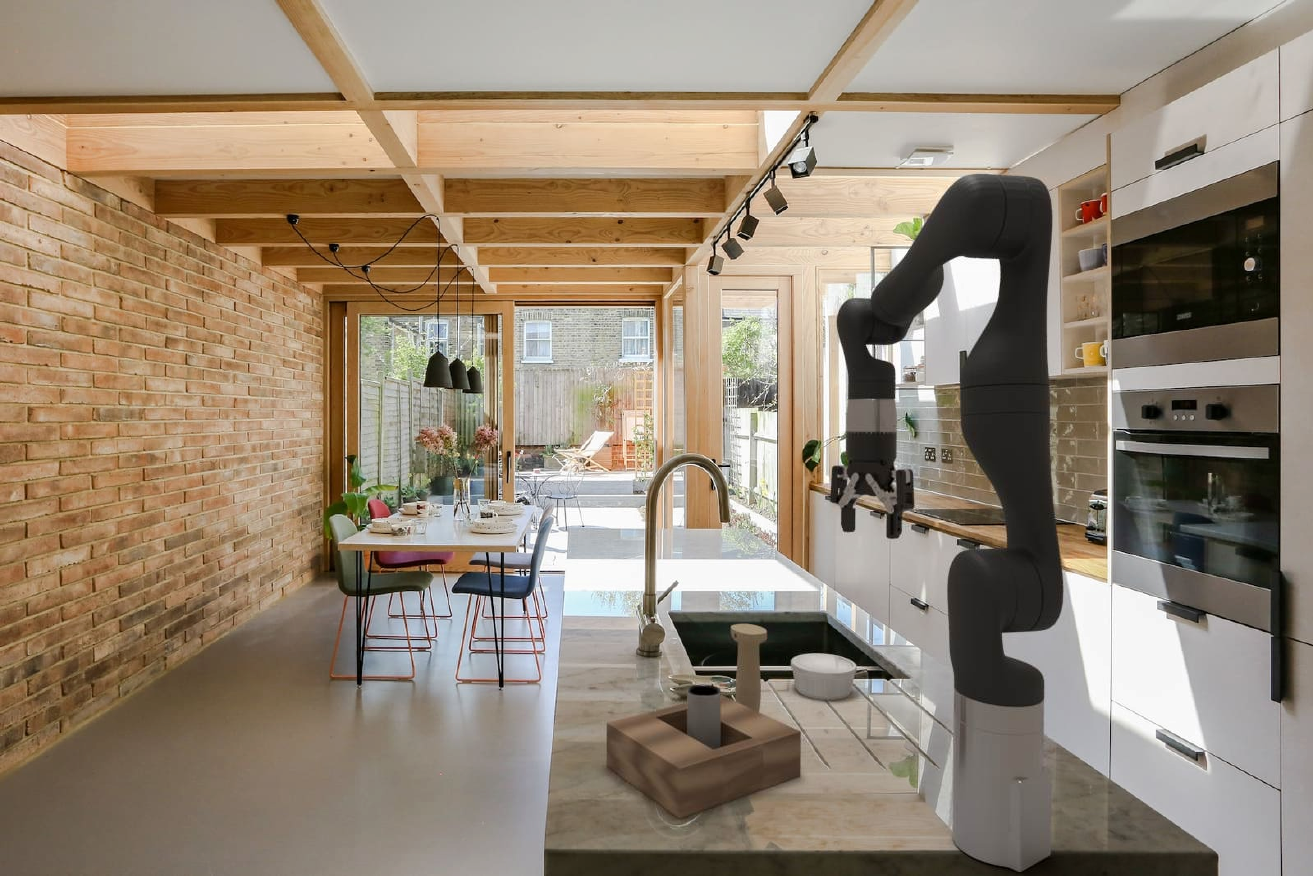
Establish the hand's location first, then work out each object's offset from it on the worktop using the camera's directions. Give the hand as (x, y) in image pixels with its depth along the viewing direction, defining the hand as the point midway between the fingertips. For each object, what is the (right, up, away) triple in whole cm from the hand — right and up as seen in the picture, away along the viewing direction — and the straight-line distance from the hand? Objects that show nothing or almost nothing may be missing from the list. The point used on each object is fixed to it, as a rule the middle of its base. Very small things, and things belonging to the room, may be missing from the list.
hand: (870, 535), depth 119 cm
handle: (-18, -30, +3) cm, 35 cm away
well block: (-27, -30, -14) cm, 43 cm away
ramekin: (-3, -30, +18) cm, 35 cm away
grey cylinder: (-26, -30, -14) cm, 42 cm away
